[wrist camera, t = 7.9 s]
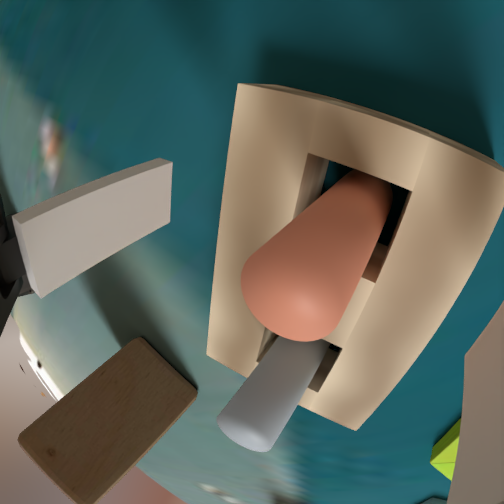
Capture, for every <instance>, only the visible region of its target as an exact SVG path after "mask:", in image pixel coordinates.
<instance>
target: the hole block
mask: <svg viewBox="0 0 504 504" xmlns="http://www.w3.org/2000/svg"><path fill="white" fill-rule="evenodd" d="M329 160H331V161H334V162H337V163H340V164H343V165H346V166H348V167H351V168H354V169H357V170H359V171H362V172H365V173H367V174H370V175H373V176H375V177H378V178H381V179H383V180H386V181H388V182H391V183H393V184H396V185H398V186H401V187H403V188H405V189H408V190H409V192H408V195H407V198H406V201H405V203H404V206H403V209H402V211H401V214H400V217H399V219H398V222H397V225H396V227H395V230H394V232H393V235H392V237H391V240H390V242H389V245H388V246H385V245H383V244H381V243H378V242H377V243H376V245H375V247H374V250H373V252H372V254H371V257H370V259H369V261H368V263H367V266H366V268H365V270H364V272H363V274H362V277H361V279H360V281H359V283H358V285H357V287H356V289H355V291H354V294H353V296H352V298H351V300H350V302H349V304H348V306H347V308H346V310H345V312H344V314H343V316H342V318H341V320H340V322H339V324H338V325H337V327H336V328H335V329H334V330H333V331H332V332H331V333H330V334H329V335H327V336H326V337H324V338H321V339H324V340H326V341H328V342H330V343H332V344H334V345H336V346H339V347H341V348H340V349H339V351H338V352H336V351H334V350H332V349H330V348H328V350H327V352H326V353H325V355H324V357H323V359H322V361H321V363H320V365H319V367H318V369H317V371H316V372H315V374H314V376H313V378H312V380H311V382H310V383H309V385H308V387H307V389H306V391H305V392H304V394H303V396H302V398H301V399H300V401H299V403H298V405H300V406H302V407H304V408H306V409H308V410H311V411H313V412H315V413H317V414H319V415H321V416H323V417H325V418H328V419H330V420H332V421H334V422H336V423H339V424H341V425H343V426H346V427H348V428H350V429H353V430H355V431H356V430H357V429H358V428H359V427H360V426H361V425H362V424H363V423H364V422H365V420H366V419H367V418H368V417H369V416H370V415H371V414H372V413H373V412H374V410H375V409H376V408H377V407H378V406H379V405H380V404H381V402H382V401H383V400H384V399H385V398H386V397H387V395H388V394H389V393H390V392H391V391H392V389H393V388H394V387H395V386H396V384H397V383H398V382H399V381H400V379H401V378H402V377H403V376H404V374H405V373H406V372H407V370H408V369H409V368H410V367H411V365H412V364H413V363H414V361H415V360H416V359H417V357H418V356H419V354H420V353H421V352H422V350H423V349H424V348H425V346H426V345H427V343H428V342H429V340H430V339H431V338H432V336H433V335H434V333H435V332H436V330H437V329H438V327H439V326H440V324H441V323H442V321H443V320H444V318H445V317H446V315H447V313H448V312H449V310H450V309H451V307H452V305H453V304H454V302H455V300H456V299H457V297H458V295H459V294H460V292H461V290H462V289H463V287H464V285H465V283H466V282H467V280H468V278H469V276H470V275H471V273H472V271H473V269H474V267H475V265H476V263H477V262H478V260H479V258H480V256H481V254H482V252H483V250H484V248H485V246H486V244H487V242H488V240H489V238H490V236H491V234H492V231H493V229H494V227H495V225H496V223H497V220H498V218H499V216H500V214H501V211H502V209H503V207H504V168H503V167H502V166H501V165H499V164H498V163H497V162H496V161H495V160H493V159H491V158H489V157H487V156H485V155H483V154H481V153H479V152H477V151H475V150H473V149H471V148H469V147H467V146H465V145H462V144H460V143H458V142H456V141H454V140H451V139H449V138H447V137H444V136H442V135H440V134H437V133H435V132H433V131H430V130H428V129H425V128H423V127H420V126H417V125H415V124H412V123H410V122H407V121H404V120H401V119H399V118H396V117H393V116H390V115H387V114H384V113H381V112H378V111H375V110H372V109H369V108H366V107H363V106H359V105H356V104H353V103H349V102H346V101H342V100H339V99H335V98H332V97H328V96H324V95H320V94H316V93H312V92H308V91H304V90H299V89H295V88H290V87H286V86H281V85H273V84H247V83H238V87H237V93H236V100H235V107H234V114H233V121H232V128H231V135H230V142H229V150H228V157H227V165H226V173H225V181H224V189H223V197H222V205H221V214H220V222H219V231H218V240H217V249H216V258H215V268H214V278H213V288H212V298H211V309H210V320H209V331H208V343H207V355H208V356H210V357H211V358H213V359H215V360H216V361H218V362H220V363H221V364H223V365H225V366H227V367H228V368H230V369H232V370H234V371H235V372H237V373H239V374H241V375H243V376H244V377H246V378H248V377H249V376H250V374H251V373H252V372H253V370H254V369H255V368H256V366H257V365H258V364H259V362H260V361H261V360H262V358H263V357H264V356H265V354H266V353H267V352H268V350H269V349H270V348H271V346H272V345H273V343H274V342H275V341H276V339H277V338H278V337H279V335H277V334H275V333H274V332H272V331H270V330H269V329H268V328H266V327H265V326H264V325H263V324H261V323H260V322H259V321H258V320H257V319H256V317H255V316H254V315H253V314H252V312H251V311H250V309H249V308H248V306H247V304H246V302H245V300H244V297H243V294H242V290H241V273H242V269H243V266H244V264H245V262H246V261H247V259H248V258H249V257H250V256H251V255H252V254H253V253H254V252H256V251H257V250H258V249H259V248H260V247H261V246H263V245H264V244H265V243H266V242H267V241H269V240H270V239H271V238H272V237H273V236H274V235H276V234H277V233H278V232H279V231H280V230H281V229H283V228H284V227H285V226H286V225H287V224H289V223H290V222H291V221H292V220H293V219H294V218H296V217H297V216H298V215H299V214H300V213H302V212H303V211H304V210H305V209H306V208H307V207H309V206H310V205H311V204H312V203H313V202H314V201H316V200H317V199H318V198H319V197H320V195H321V191H322V187H323V183H324V179H325V175H326V171H327V167H328V163H329Z"/></svg>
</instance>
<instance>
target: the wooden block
mask: <svg viewBox="0 0 504 504" xmlns="http://www.w3.org/2000/svg"><path fill="white" fill-rule="evenodd" d="M197 394H198V392H197V391H196V389H195V388H194V387H193V386H192V385H191V384H190V383H189V382H188V381H187V380H186V379H184V378H183V377H182V376H181V375H180V374H179V373H178V372H177V371H176V370H175V369H174V368H173V367H172V366H171V365H170V364H169V363H167V362H166V361H165V360H164V359H163V358H162V357H161V356H160V355H159V354H158V353H157V352H156V351H155V350H154V349H153V348H152V347H151V346H150V345H149V344H148V343H147V342H146V341H145V340H144V339H143V338H141V337H138V338H135V339H133V340H131V341H130V342H129V343H128V344H127V345H125V346H124V347H123V348H122V349H121V350H119V351H118V352H117V353H116V354H115V355H113V356H112V357H111V358H110V359H108V360H107V361H106V362H105V363H104V364H102V365H101V366H100V367H99V368H98V369H96V370H95V371H94V372H93V373H92V374H90V375H89V376H88V377H87V378H86V379H84V380H83V381H82V382H81V383H80V384H78V385H77V386H76V387H75V388H74V389H72V390H71V391H70V392H69V393H68V394H66V395H65V396H64V397H63V398H62V399H60V400H59V401H58V402H57V403H56V404H55V405H53V406H52V407H51V408H50V409H49V410H47V411H46V412H45V413H44V414H43V415H42V416H40V417H39V418H38V419H37V420H35V421H34V422H33V423H32V424H31V425H30V426H28V427H27V428H26V429H25V430H24V431H22V432H21V433H20V435H19V437H18V442H19V445H20V447H21V448H22V449H23V451H24V452H25V453H26V454H27V455H28V456H29V458H30V459H31V460H32V461H33V462H34V463H35V464H36V465H37V466H38V468H39V469H40V470H41V471H42V472H43V473H44V474H45V475H46V476H47V477H48V478H49V479H50V480H51V481H52V482H53V483H54V484H55V485H56V486H57V487H58V488H59V489H60V490H61V491H62V492H63V493H64V494H65V495H66V496H67V497H68V498H69V499H70V500H71V501H72V502H73V503H75V504H97V503H98V502H99V500H101V499H102V498H103V497H104V496H105V495H106V494H107V493H108V492H109V491H110V490H111V489H112V488H113V487H114V486H115V485H116V484H117V483H118V482H119V481H120V480H121V479H122V478H123V477H124V476H125V475H126V474H127V473H128V472H129V471H130V470H131V469H132V468H133V467H134V466H135V465H136V464H137V463H138V461H139V460H140V459H141V458H142V457H143V456H144V455H145V454H146V453H147V452H148V451H149V450H150V449H151V448H152V447H153V446H154V445H155V444H156V443H157V441H158V440H159V439H160V438H161V437H162V436H163V435H164V434H165V433H166V432H167V431H168V430H169V429H170V427H171V426H172V425H173V424H174V423H175V422H176V421H177V420H178V419H179V418H180V417H181V415H182V414H183V413H184V412H185V411H186V410H187V409H188V408H189V407H190V405H191V404H192V403H193V402H194V401H195V400H196V397H197Z"/></svg>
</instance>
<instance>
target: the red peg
mask: <svg viewBox="0 0 504 504" xmlns="http://www.w3.org/2000/svg"><path fill="white" fill-rule="evenodd" d="M392 203H393V192H392V188H391V185H390V183H389V182H388V181H386V180H383V179H381V178H378V177H375V176H373V175H370V174H367V173H365V172H362V171H359V170H357V169H354V170H352V171H350V172H349V173H347V174H346V175H345V176H344V177H343V178H341V179H340V180H339V181H338V182H337V183H336V184H334V185H333V186H332V187H331V188H330V189H329V190H327V191H326V192H325V193H324V194H323V195H322V196H320V197H319V198H318V199H317V200H316V201H314V202H313V203H312V204H311V205H310V206H309V207H307V208H306V209H305V210H304V211H303V212H302V213H300V214H299V215H298V216H297V217H296V218H294V219H293V220H292V221H291V222H290V223H289V224H287V225H286V226H285V227H284V228H283V229H281V230H280V231H279V232H278V233H277V234H276V235H274V236H273V237H272V238H271V239H270V240H269V241H267V242H266V243H265V244H264V245H263V246H261V247H260V248H259V249H258V250H257V251H256V252H254V253H253V254H252V255H251V256H250V257H249V258H248V259H247V261H246V262H245V264H244V266H243V269H242V273H241V290H242V294H243V297H244V300H245V302H246V304H247V306H248V308H249V309H250V311H251V312H252V314H253V315H254V316H255V317H256V319H257V320H258V321H259V322H260V323H261V324H263V325H264V326H265V327H266V328H268V329H269V330H270V331H272V332H274V333H275V334H277V335H279V336H282V337H284V338H287V339H290V340H294V341H303V342H308V341H315V340H319V339H321V338H324V337H326V336H327V335H329V334H330V333H331V332H332V331H333V330H334V329H335V328H336V327H337V325H338V324H339V322H340V320H341V318H342V316H343V314H344V312H345V310H346V308H347V306H348V304H349V302H350V300H351V298H352V296H353V294H354V291H355V289H356V287H357V285H358V283H359V281H360V279H361V277H362V274H363V272H364V270H365V268H366V266H367V263H368V261H369V259H370V257H371V254H372V252H373V250H374V247H375V245H376V243H377V241H378V238H379V236H380V233H381V231H382V229H383V226H384V224H385V221H386V219H387V216H388V214H389V211H390V209H391V206H392Z"/></svg>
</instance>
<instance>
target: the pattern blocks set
mask: <svg viewBox="0 0 504 504" xmlns="http://www.w3.org/2000/svg"><path fill="white" fill-rule="evenodd" d="M460 426H461V419H459V421H458V422H457V423H456V424H455V425H454V426H453V427H452V428H451V429H450V430H449V431H448V432H447V433H446V434H445V436H444V437H443V438H442V439H441V440H440V441H439V442H438V443H436V444H435V445H434V446H433V448H432V449H433V450H432V455H431V459H430V463H431V465H433V466H434V467H435V468H436V469H438V470H439V471H440V472H441V473H443V474H444V475H445V476H446V477H447V478H449V479H450V480H451V481H452V477H453V472H454V467H455V461H456V455H457V449H458V442H459V435H460ZM421 504H447V501H446V500H441V499H437V498H431V499H429V500H427V501H425V502H423V503H421Z"/></svg>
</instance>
